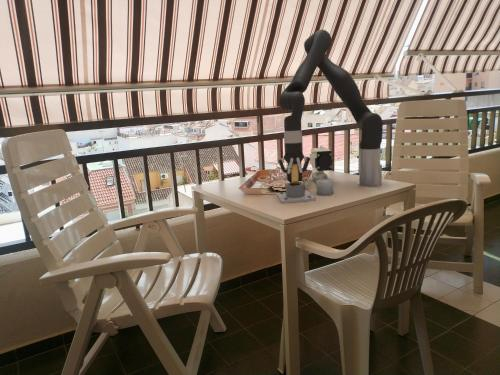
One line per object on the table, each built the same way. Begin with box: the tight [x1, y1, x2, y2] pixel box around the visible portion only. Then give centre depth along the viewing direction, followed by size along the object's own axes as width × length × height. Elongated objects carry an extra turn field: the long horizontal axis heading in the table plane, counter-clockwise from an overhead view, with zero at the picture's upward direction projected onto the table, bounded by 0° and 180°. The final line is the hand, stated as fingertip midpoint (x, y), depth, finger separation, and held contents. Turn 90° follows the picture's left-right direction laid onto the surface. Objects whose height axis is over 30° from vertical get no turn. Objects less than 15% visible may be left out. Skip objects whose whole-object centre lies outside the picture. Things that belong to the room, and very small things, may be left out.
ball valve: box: [309, 145, 333, 182], centre depth 190 cm, size 18×8×18 cm, turn 2°
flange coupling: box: [276, 182, 316, 204], centre depth 162 cm, size 14×14×6 cm
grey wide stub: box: [316, 178, 334, 197], centre depth 166 cm, size 7×7×6 cm
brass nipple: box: [290, 164, 299, 186], centre depth 161 cm, size 4×4×12 cm
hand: (294, 181), depth 161 cm, fingers closed on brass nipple, 3 cm apart
